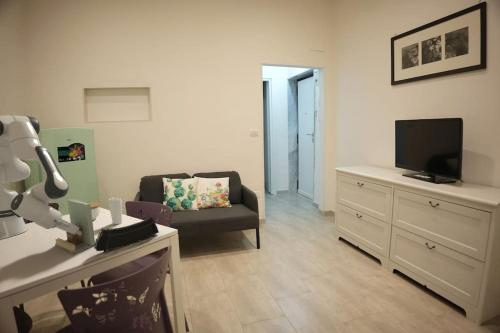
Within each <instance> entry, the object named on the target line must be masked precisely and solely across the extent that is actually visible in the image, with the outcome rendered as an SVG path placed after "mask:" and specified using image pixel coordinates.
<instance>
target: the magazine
mask: <svg viewBox="0 0 500 333" xmlns="http://www.w3.org/2000/svg"><path fill="white" fill-rule="evenodd" d="M159 233H160V232H159V229H158V225H157V224H156V221H155V220H154V217H153V216H152V215H150V217H148V218H146V219H143V220H142V221H141V220H140V221H138V222H136V223H135V222H134V223H133V224H130V225H125V226H122V227H115V228H101V230H100V231H99V232H98V234H97V238H95V246H93V249H94V250H95V251H96V252H103V253H107V251H110V250H116V249H121V248H125V247H128V246H131V245H134V244H137V243H139V242H141V241H144V240H146V239H148V238H150V237H152V236H154V235H157V234H159Z"/></svg>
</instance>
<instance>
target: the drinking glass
mask: <svg viewBox="0 0 500 333" xmlns="http://www.w3.org/2000/svg"><path fill="white" fill-rule="evenodd" d="M108 206H109V207H108V208H109V211H110V218H111V223H112V224H113V225H119V224H120V225H121V224H122V223H123V204H122V198H121V197H119V196H118V197H117V196H116V197H111V198H108Z"/></svg>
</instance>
